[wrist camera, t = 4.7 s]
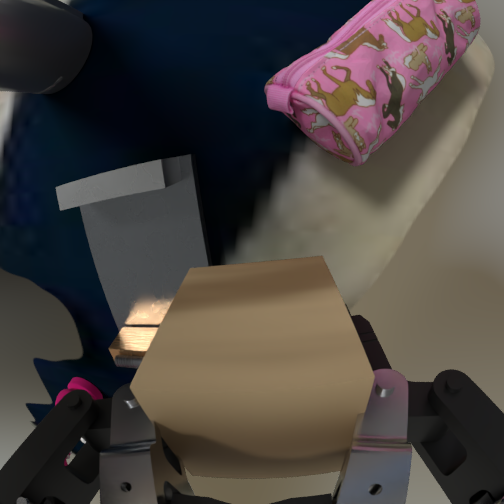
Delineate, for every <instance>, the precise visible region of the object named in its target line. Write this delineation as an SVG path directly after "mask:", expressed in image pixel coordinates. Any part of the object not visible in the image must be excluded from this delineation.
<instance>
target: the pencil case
mask: <svg viewBox="0 0 504 504" xmlns="http://www.w3.org/2000/svg"><path fill="white" fill-rule="evenodd" d="M479 28H480V14H479V10H478V7H477V4H476V2H475V0H372V1H371V2H370V3H368V4H367V5H366V6H365V7H364V8H363V9H362V10H360V11H359V12H358V13H357V14H356V15H355V16H354V17H352V18H351V19H350V20H349V21H347V22H346V24H345V25H344V26H342V27H341V28H340V29H339V30H337V31H336V32H335V33H334V34H333V35H332V36H331V37H330V38H329V40H328V41H327V43H326V44H323V45H321V46H320V47H318V48H316V49H315V50H313V51H312V52H311V53H309V54H307V55H305V56H303V57H301V58H300V59H298V60H296V61H295V62H294V63H292V64H291V65H290V66H288V67H286V68H284V69H282V70H281V71H279V72H278V73H277V74H275V75H274V76H273V77H272V78H271V79H270V80H269V81H268V82H267V83H266V86H265V94H266V95H267V103H268V107H269V108H270V109H273V110H277V111H281V112H283V113H284V114H285V115H286V116H287V117H288V118H290V119H291V120H292V121H293V122H294V123H295V124H296V125H297V126H298V127H299V128H300V129H301V130H302V131H303V132H304V133H305V134H306V135H307V136H308V137H309V138H310V139H311V140H312V141H313V142H314V143H316V144H317V145H318V146H319V147H321V148H322V149H323V150H325V151H326V152H328V153H330V154H332V155H334V156H335V157H336V158H338V159H341V160H342V161H344V162H348V163H349V164H350V165H352V166H359V165H362V164H364V163H365V162H366V160H367V159H368V157H369V154H371V153H373V152H375V151H376V150H377V149H378V148H379V147H380V146H381V145H382V144H383V143H384V142H385V141H387V140H388V139H389V138H390V137H391V136H392V135H393V134H394V133H395V132H396V131H397V130H398V129H399V128H400V126H401V124H402V123H404V122H405V121H406V120H407V119H408V118H409V117H410V115H411V114H412V112H413V111H414V110H415V108H416V107H417V106H418V104H419V103H420V102H421V101H422V100H423V99H424V98H425V97H426V96H427V95H428V94H429V93H430V92H431V91H432V90H433V89H434V88H435V87H436V86H437V85H438V83H439V82H440V81H441V79H442V78H443V76H444V75H445V74H446V73H447V72H448V71H449V70H450V69H451V68H452V66H453V65H454V64H455V63H456V62H457V60H458V59H459V58H460V57H461V56H462V55H463V54H464V52H465V51H466V50H467V48H468V47H469V45H470V44H471V43H472V42H473V40H474V39H475V37H476V35H477V33H478V31H479Z"/></svg>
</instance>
